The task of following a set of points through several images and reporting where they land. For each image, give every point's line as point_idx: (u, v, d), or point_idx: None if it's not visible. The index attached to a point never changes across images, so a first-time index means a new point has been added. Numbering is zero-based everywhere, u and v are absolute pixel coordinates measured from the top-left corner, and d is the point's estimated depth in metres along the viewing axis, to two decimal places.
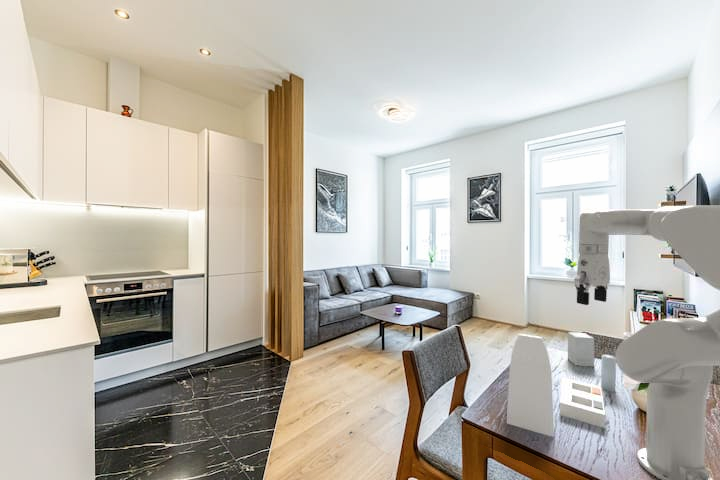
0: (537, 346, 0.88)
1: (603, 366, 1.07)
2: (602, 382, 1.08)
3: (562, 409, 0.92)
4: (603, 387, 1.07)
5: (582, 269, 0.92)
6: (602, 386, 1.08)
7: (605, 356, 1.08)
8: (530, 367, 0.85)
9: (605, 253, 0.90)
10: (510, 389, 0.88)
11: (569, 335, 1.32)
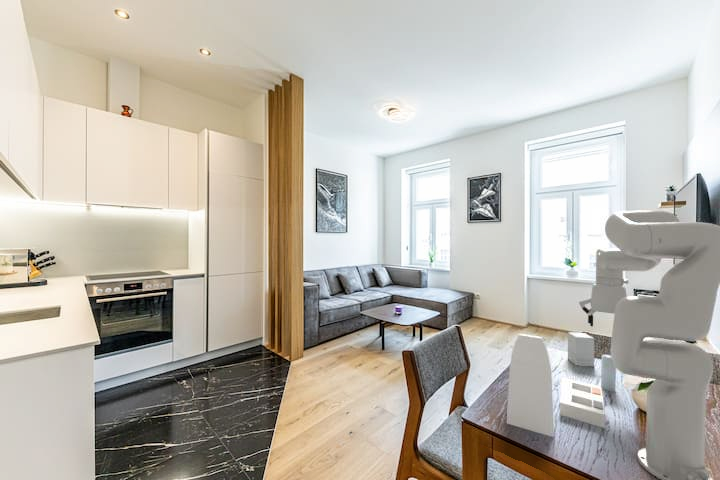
0: (537, 346, 0.88)
1: (603, 366, 1.07)
2: (602, 382, 1.08)
3: (562, 409, 0.92)
4: (603, 387, 1.07)
5: None
6: (602, 386, 1.08)
7: (605, 356, 1.08)
8: (530, 367, 0.85)
9: None
10: (510, 389, 0.88)
11: (569, 335, 1.32)
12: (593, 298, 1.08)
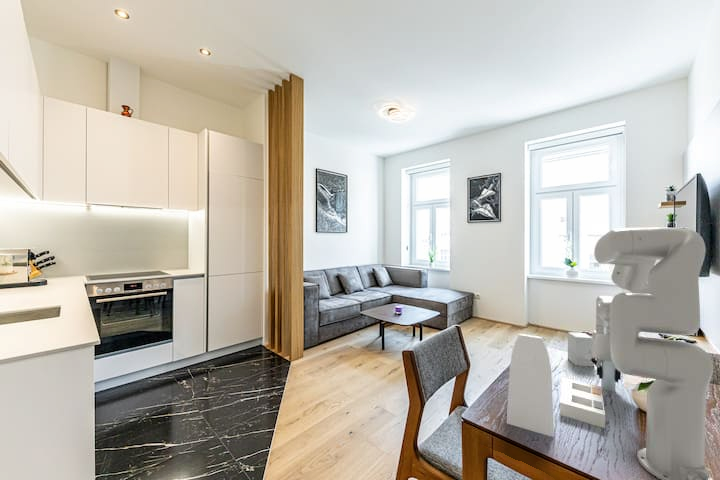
0: (537, 346, 0.88)
1: (603, 366, 1.07)
2: (602, 382, 1.08)
3: (562, 409, 0.92)
4: (603, 387, 1.07)
5: None
6: (602, 386, 1.08)
7: None
8: (530, 367, 0.85)
9: None
10: (510, 389, 0.88)
11: (569, 335, 1.32)
12: (593, 346, 1.09)
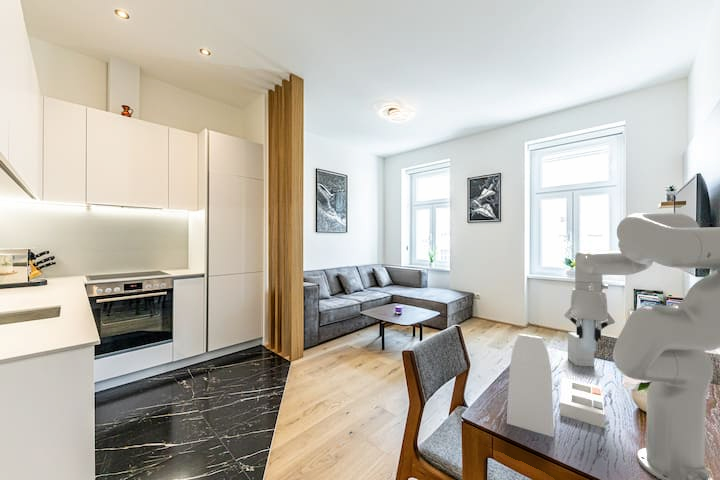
0: (537, 346, 0.88)
1: (583, 325, 1.02)
2: (582, 342, 1.02)
3: (562, 409, 0.92)
4: (583, 347, 1.02)
5: None
6: (582, 346, 1.02)
7: None
8: (530, 367, 0.85)
9: None
10: (510, 389, 0.88)
11: (569, 335, 1.32)
12: (572, 304, 1.03)
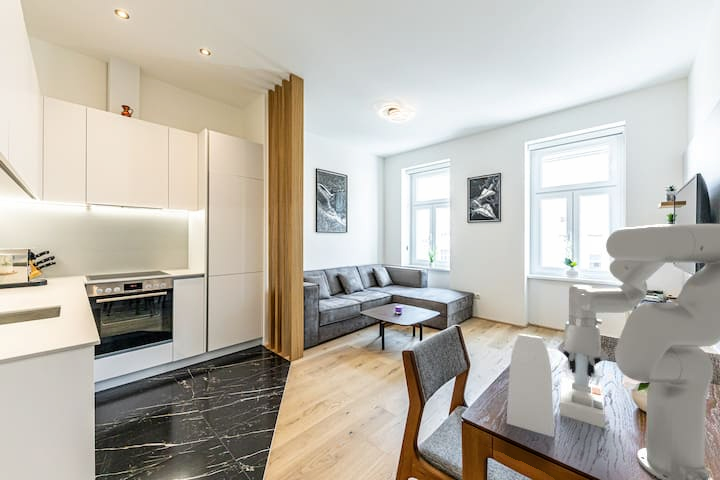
0: (537, 346, 0.88)
1: (576, 359, 1.01)
2: (575, 376, 1.01)
3: (562, 409, 0.92)
4: (576, 382, 1.01)
5: (600, 341, 0.97)
6: (575, 381, 1.01)
7: None
8: (530, 367, 0.85)
9: None
10: (510, 389, 0.88)
11: None
12: (565, 338, 1.02)
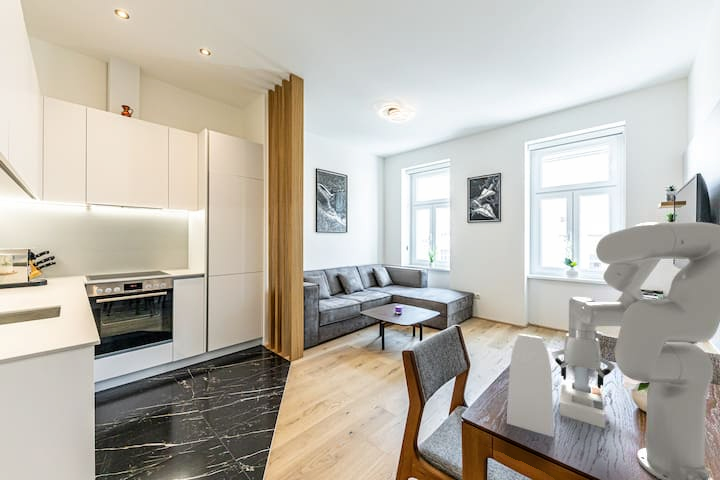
0: (537, 346, 0.88)
1: (576, 375, 1.01)
2: None
3: (562, 409, 0.92)
4: None
5: None
6: None
7: None
8: (530, 367, 0.85)
9: None
10: (510, 389, 0.88)
11: None
12: (565, 350, 1.02)
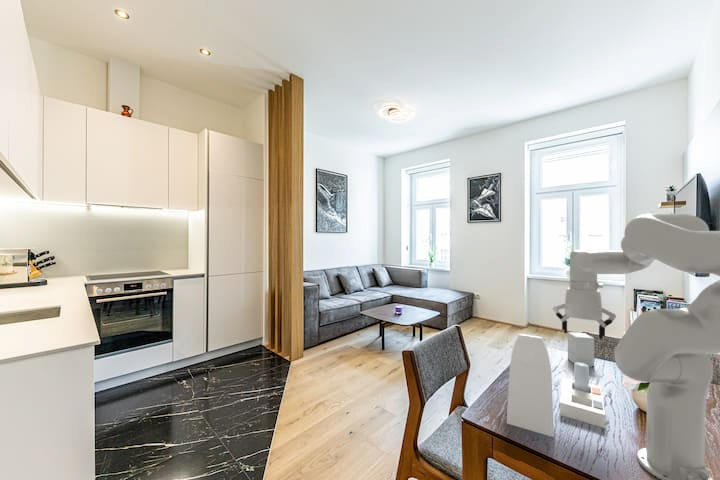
0: (537, 346, 0.88)
1: (576, 375, 1.01)
2: None
3: (562, 409, 0.92)
4: None
5: (601, 305, 0.97)
6: None
7: (578, 364, 1.01)
8: (530, 367, 0.85)
9: None
10: (510, 389, 0.88)
11: (569, 335, 1.32)
12: (567, 303, 1.02)
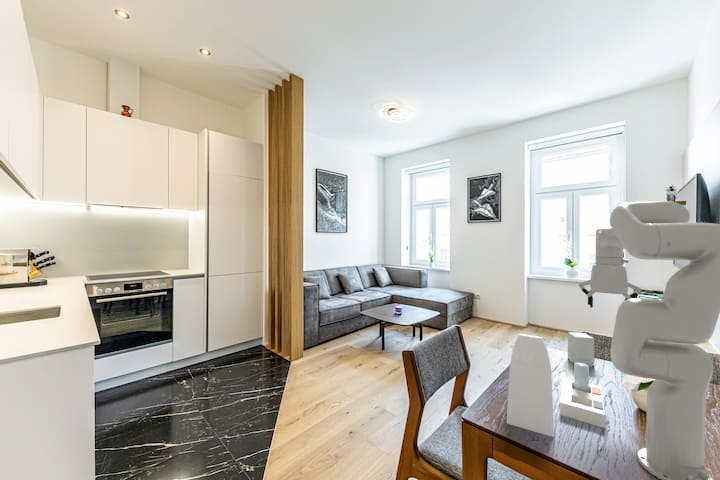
0: (537, 346, 0.88)
1: (576, 375, 1.01)
2: None
3: (562, 409, 0.92)
4: None
5: None
6: None
7: (578, 364, 1.01)
8: (530, 367, 0.85)
9: None
10: (510, 389, 0.88)
11: (569, 335, 1.32)
12: (593, 278, 1.06)
